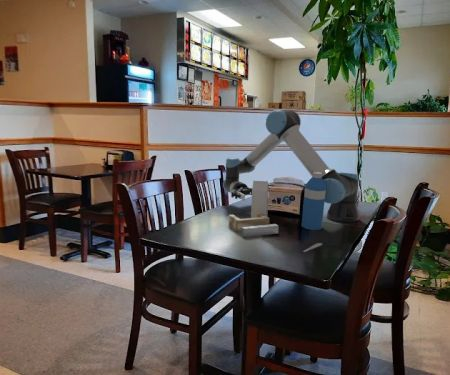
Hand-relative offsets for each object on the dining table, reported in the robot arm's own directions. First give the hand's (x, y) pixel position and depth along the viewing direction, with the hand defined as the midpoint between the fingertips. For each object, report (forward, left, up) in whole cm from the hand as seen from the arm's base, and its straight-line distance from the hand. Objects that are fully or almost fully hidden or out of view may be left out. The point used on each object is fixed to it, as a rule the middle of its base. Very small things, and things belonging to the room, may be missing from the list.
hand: (256, 196), depth 181 cm
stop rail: (-16, +21, -11) cm, 28 cm away
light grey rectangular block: (-2, +1, -11) cm, 11 cm away
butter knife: (-39, +28, -11) cm, 50 cm away
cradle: (-5, +15, -11) cm, 19 cm away
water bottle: (-27, -4, -11) cm, 30 cm away
